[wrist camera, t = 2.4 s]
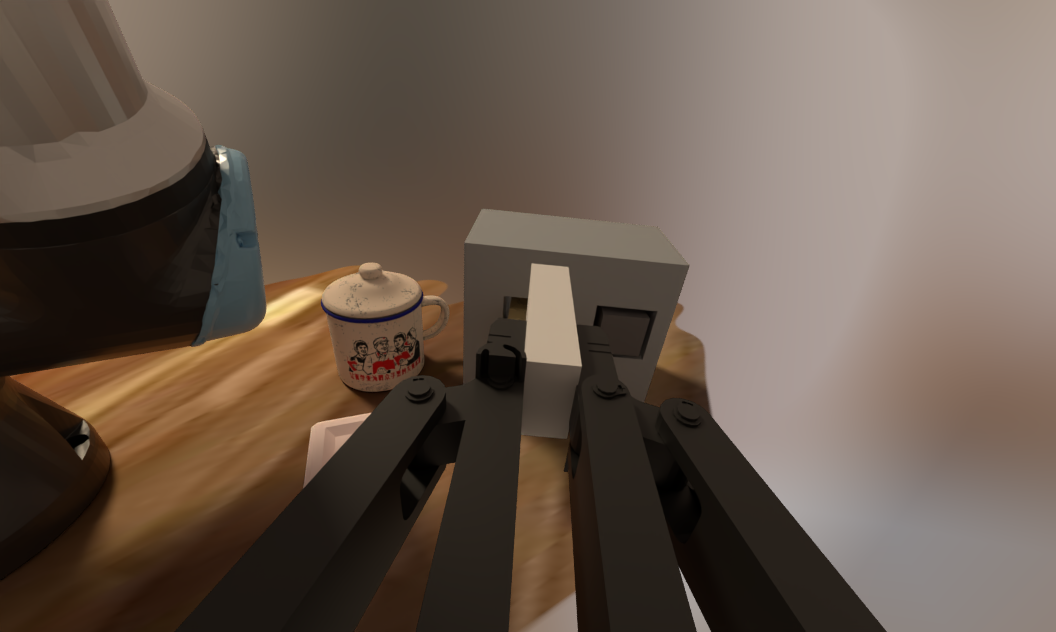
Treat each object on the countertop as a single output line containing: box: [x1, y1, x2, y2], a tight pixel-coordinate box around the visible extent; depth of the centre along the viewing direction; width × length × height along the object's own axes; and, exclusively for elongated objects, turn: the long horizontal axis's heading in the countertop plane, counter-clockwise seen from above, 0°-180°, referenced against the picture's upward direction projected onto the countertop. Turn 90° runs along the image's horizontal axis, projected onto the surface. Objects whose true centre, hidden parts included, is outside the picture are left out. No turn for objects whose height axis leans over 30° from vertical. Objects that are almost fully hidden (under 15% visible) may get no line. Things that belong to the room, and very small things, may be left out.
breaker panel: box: [463, 209, 689, 402], centre depth 39 cm, size 18×10×16 cm, turn 88°
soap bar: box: [303, 413, 371, 488], centre depth 29 cm, size 5×9×2 cm, turn 20°
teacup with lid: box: [321, 263, 449, 392], centre depth 39 cm, size 12×9×12 cm
